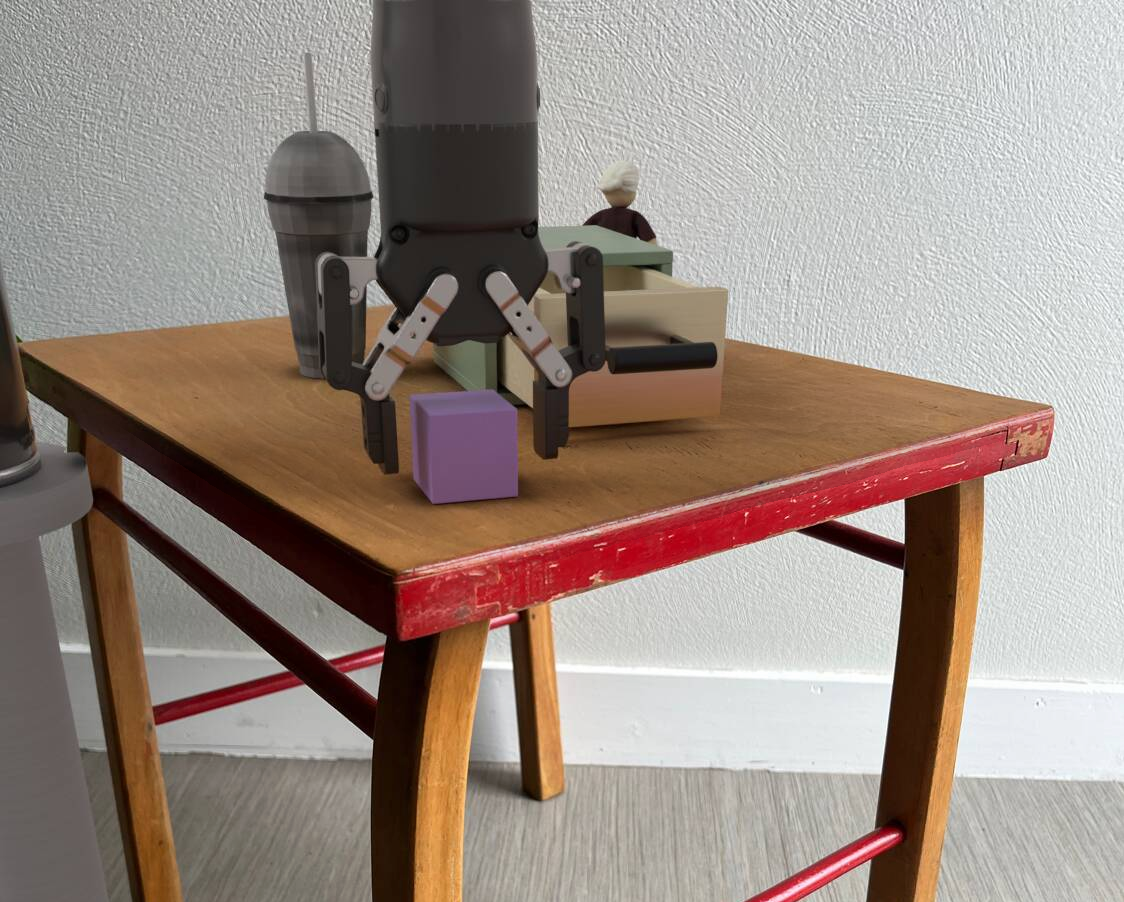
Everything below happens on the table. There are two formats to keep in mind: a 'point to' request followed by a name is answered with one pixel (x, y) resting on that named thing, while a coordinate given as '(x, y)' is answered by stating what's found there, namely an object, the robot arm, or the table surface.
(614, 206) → the grandmother figurine
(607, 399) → the wooden drawer
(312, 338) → the beverage cup
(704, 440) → the table surface
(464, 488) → the purple cube
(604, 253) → the drawer cabinet
